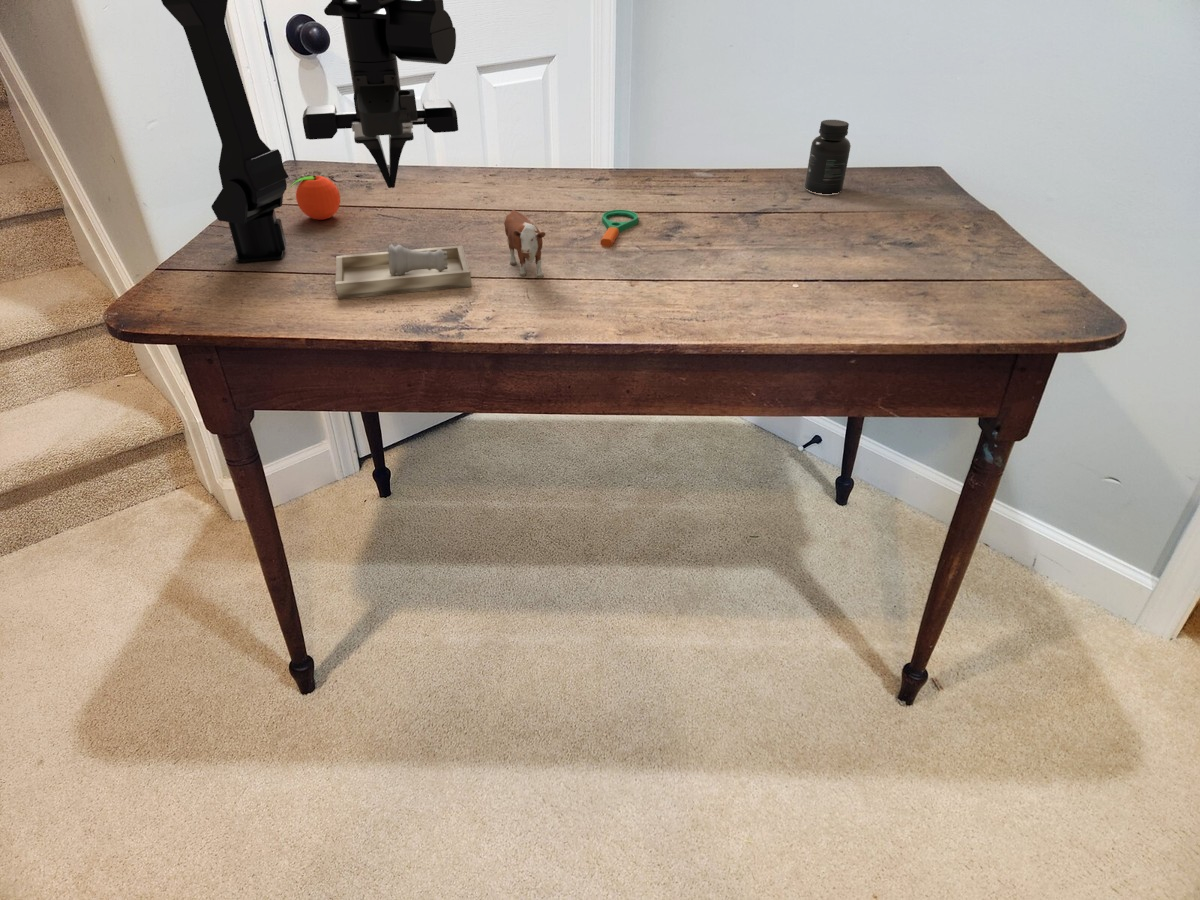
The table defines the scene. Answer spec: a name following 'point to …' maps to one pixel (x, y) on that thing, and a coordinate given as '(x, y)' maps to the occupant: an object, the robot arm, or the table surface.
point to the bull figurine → (524, 241)
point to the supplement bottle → (828, 158)
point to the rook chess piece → (415, 260)
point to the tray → (374, 278)
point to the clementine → (317, 197)
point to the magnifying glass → (616, 225)
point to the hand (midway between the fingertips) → (391, 187)
